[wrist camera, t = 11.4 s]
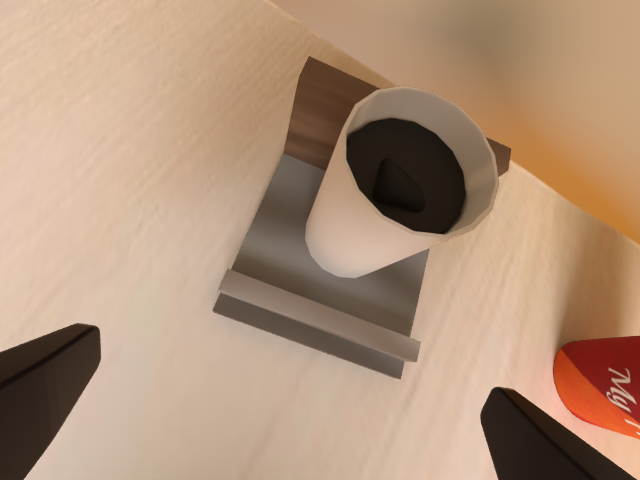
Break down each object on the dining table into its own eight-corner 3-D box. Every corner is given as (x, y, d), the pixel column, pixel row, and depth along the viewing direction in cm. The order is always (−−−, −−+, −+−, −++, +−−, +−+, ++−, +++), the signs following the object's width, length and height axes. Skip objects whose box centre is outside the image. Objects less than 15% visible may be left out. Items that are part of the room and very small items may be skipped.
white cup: (385, 296, 21) (496, 261, 12) (286, 269, 20) (322, 207, 11) (399, 207, 23) (501, 117, 14) (311, 178, 22) (358, 63, 13)
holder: (393, 377, 21) (477, 397, 13) (214, 312, 20) (194, 293, 12) (432, 205, 25) (511, 148, 18) (289, 144, 24) (308, 56, 17)
